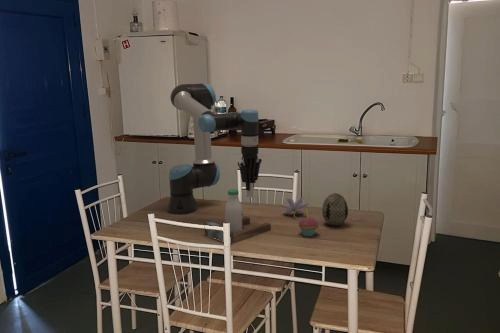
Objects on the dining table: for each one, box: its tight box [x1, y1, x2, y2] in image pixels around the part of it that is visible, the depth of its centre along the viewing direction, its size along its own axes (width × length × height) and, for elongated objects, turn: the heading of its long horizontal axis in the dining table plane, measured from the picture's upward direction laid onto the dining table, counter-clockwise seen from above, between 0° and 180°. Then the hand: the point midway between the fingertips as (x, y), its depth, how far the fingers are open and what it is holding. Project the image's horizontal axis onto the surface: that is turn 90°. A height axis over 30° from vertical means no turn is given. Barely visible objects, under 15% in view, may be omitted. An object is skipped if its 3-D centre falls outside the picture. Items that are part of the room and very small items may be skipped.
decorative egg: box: [321, 192, 349, 227], centre depth 206 cm, size 12×12×15 cm
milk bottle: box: [224, 188, 244, 234], centre depth 195 cm, size 8×8×20 cm
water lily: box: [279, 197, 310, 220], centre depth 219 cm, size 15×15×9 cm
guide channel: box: [204, 216, 272, 245], centre depth 199 cm, size 16×25×6 cm, turn 134°
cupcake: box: [298, 206, 320, 237], centre depth 194 cm, size 9×8×12 cm
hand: (249, 196), depth 202 cm, fingers closed
